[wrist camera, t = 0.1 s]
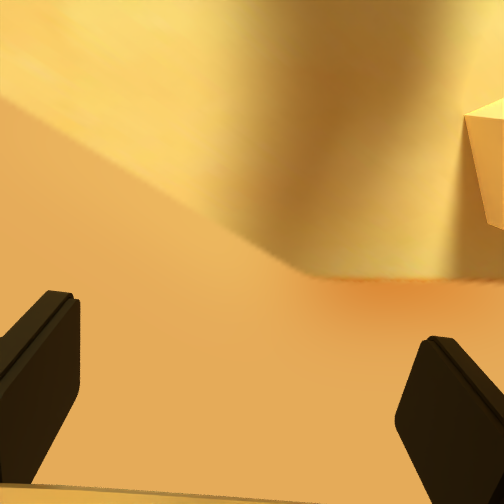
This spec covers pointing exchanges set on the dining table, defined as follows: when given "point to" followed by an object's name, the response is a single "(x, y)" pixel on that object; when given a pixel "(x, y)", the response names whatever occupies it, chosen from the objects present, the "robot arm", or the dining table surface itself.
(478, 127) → the milk
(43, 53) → the dining table surface
